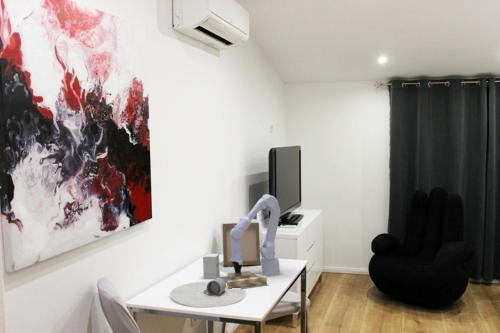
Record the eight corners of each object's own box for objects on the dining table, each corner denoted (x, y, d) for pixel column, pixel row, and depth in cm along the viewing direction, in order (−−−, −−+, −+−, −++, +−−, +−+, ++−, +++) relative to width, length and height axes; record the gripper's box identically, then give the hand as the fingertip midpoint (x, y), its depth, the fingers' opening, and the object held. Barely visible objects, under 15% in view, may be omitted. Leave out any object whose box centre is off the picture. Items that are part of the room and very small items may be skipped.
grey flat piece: (249, 276, 259) (249, 270, 259) (253, 280, 251) (253, 274, 251) (227, 279, 256) (227, 273, 255) (231, 283, 248) (231, 277, 248)
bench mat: (253, 273, 266) (253, 272, 266) (268, 286, 241) (268, 285, 241) (218, 278, 260) (218, 277, 260) (230, 291, 235) (230, 290, 235)
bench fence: (263, 281, 249) (263, 273, 248) (266, 284, 243) (266, 276, 243) (226, 286, 243) (226, 278, 242) (229, 289, 238) (228, 281, 237)
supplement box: (216, 280, 257) (215, 256, 256) (203, 279, 258) (202, 256, 257) (220, 276, 264) (219, 253, 263) (207, 275, 265) (206, 253, 265)
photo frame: (260, 266, 282) (258, 224, 280) (223, 267, 283) (221, 225, 281) (260, 259, 296) (258, 220, 295) (225, 261, 297) (223, 221, 296)
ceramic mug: (227, 291, 235) (226, 276, 235) (221, 297, 227) (220, 281, 227) (207, 290, 238) (206, 275, 238) (200, 296, 231) (200, 280, 230)
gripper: (226, 248, 263) (227, 272, 264) (233, 253, 250) (234, 279, 250) (238, 247, 266) (239, 271, 266) (246, 252, 252) (247, 277, 252)
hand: (237, 275), depth 258 cm, fingers closed
